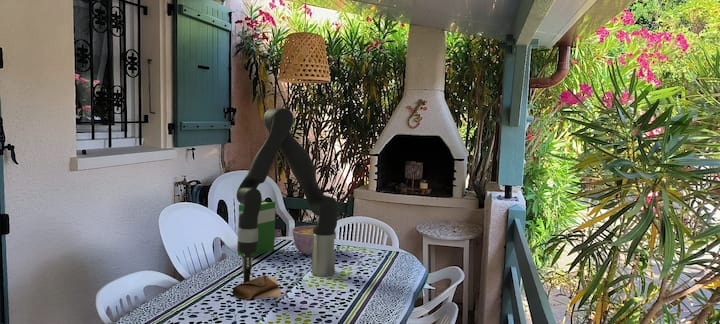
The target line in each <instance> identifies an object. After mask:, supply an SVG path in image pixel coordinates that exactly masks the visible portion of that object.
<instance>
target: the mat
mask: <svg viewBox="0 0 720 324" xmlns="http://www.w3.org/2000/svg"><path fill="white" fill-rule="evenodd" d="M256 278H257V277H256ZM256 278H250V280H253V279H256ZM268 278H269V279H270V280H272V281H273V282H274V283H276V284H277V285H279V283H278V280H277V278H276V277H268ZM280 289H281V288H280V285H279V286H278V287H276V288H274V289H272V290H270V291H268V292H265V293H263V294H260V295H258V296H256V297H254V298H253V299H263V298H279V297H281V298H282V297H283V295H282V293H281V290H280Z"/></svg>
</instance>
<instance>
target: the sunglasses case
mask: <svg viewBox="0 0 720 324" xmlns="http://www.w3.org/2000/svg"><path fill="white" fill-rule="evenodd" d="M269 278H270V277H268V276H267V275H266V274H263V275H262V276H259V277H256V279H255V278H252V279H253V280H250V281H248V282H246V283H244V282H243V283H239V284H237V285H236V286H234V287H233V290H232V295H233V296H234V297H236V298H238V299H241V300H252V299H255V298H254V297H256V296H258V295H260V294H263V293H265V292H268V291H270V290H272V289H274V288H276V287H278V286H279V287H280V285H279V284H278V285H277V284H276V283H274V282H273V281H272V280H270V279H269Z"/></svg>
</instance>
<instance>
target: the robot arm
mask: <svg viewBox="0 0 720 324" xmlns="http://www.w3.org/2000/svg"><path fill="white" fill-rule="evenodd" d="M294 120H295V117H294V114H293V113H292V111H291V110H290V109H289V108H285V107H284V108H283V107H275V108H269V109H267V110H266V112H265V113H264V115H263V124H264V126H265V127H266V129H267V131H268V132H269V135H268V136H267V139H266V140H265V142H264V143H263V145H262V146H261V148H259V150H258V152H257V153H256V155H255V156H254V158H253V160H252V162H251V164H250V167H249V169H248V172H247V175H246V176H245V177H244V178H243V179H242V181H241V183H240V184H239V186H238V188H237V191H236V200H237V202H238V203H240V204H244V210H243V212H241V213H240V215H239V214H238V222H239V229H238V228H237V242H236V243H237V247H236V251H237V253H238V252H239V253H244V256H241V261H242V262H241V263H242V265H241V266H242V271H243V272H242V275H243V283H246V282H248V281H250V279H251V275H252V272H251V271H252V269H253V262H254V256H253V257H252V255H251V254H252V253H255V252H257V251H258V228H257V227H258V214H259V211H260V207H261V202H262V201H263V199H262V198H263V197H262V193H261V191H260V190H259V189H258V187H259V185H261V184H263V183H265V182H266V180H267V177H268V175H269V173H270V170H271V166H272V165H273V162H274V160H275V158H276V156H277V154H278V152H279V150H280V151H281V153H282V156H283V158H284V159H285V161H286V162H287V164H288V167H289V169H290V170H291V172H292V175H294V178H295V179H296V181H297V183H298V185H299V187H300V189H301V190H302V192H303V195H304V196H305V199H306V202H307V204H308V207H309V209H310V210H311V212H312V213H313V215H315V216H317V217H318V223H317V224H315V225H313V226H314V227H313V245H312V255H311V274H312V275H314V276H317V277H326V276H327V277H328V276H331V275H335V270H336V268H335V267H336V266H335V265H336V251H335V237H336V236H335V234H336V229H337V226H338V225H337V224H338V215H339V205H338V200H336V198H334V197H332V196H330V195H326V194H324V192H323V191H322V190H321V188H320V186H319V184H318V182H317V170H316V166H315V164H314V162H313V160H312V158H311V156H310V154H309V153H308V151H307V150H306V149H305V148H304V147H303V146H302V144H300V143H299V142H298V140H296V138H295V137H294V136H293V134H292V133H291V129H292V127H293V125H294V122H295V121H294Z"/></svg>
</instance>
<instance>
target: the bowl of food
mask: <svg viewBox="0 0 720 324" xmlns="http://www.w3.org/2000/svg"><path fill="white" fill-rule="evenodd" d="M314 226H315V225H301V226H300V225H299V226H296V227H293V228H291V231H292V237H293V240H294V241H293V242H294V246H295V248H296V249H297V251H299V252H301V253H302V254H304V255H305V254H306V256H312V245H313V227H314Z"/></svg>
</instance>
